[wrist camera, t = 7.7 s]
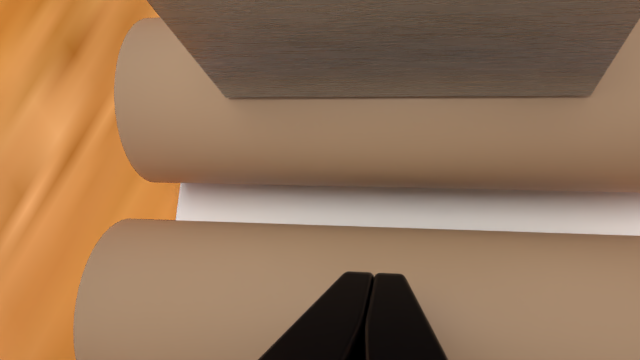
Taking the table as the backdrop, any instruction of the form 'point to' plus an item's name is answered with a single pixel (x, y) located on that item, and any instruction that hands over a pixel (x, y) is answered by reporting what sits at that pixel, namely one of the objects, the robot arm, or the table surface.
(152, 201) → the table surface
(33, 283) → the table surface
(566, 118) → the roller track
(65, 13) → the table surface
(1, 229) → the table surface
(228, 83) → the grey block
